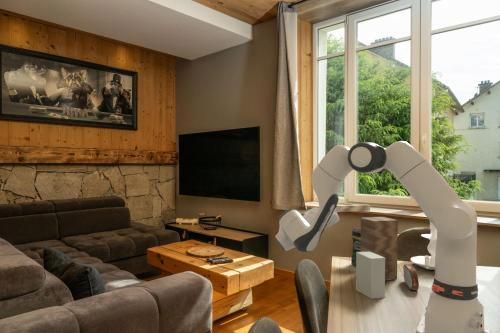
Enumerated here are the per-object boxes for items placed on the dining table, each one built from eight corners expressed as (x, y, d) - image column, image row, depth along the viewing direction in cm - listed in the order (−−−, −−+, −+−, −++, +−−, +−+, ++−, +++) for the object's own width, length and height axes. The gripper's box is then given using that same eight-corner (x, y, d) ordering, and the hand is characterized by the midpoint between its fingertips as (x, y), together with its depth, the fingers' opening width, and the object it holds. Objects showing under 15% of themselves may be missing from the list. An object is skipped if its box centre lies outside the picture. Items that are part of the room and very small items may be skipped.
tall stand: (373, 281, 150) (374, 221, 150) (360, 274, 159) (360, 217, 159) (397, 278, 153) (397, 220, 153) (382, 272, 163) (383, 216, 162)
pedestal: (370, 298, 130) (371, 258, 130) (355, 289, 140) (356, 252, 139) (384, 297, 131) (385, 257, 131) (368, 288, 141) (369, 251, 141)
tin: (419, 293, 136) (419, 272, 136) (410, 293, 136) (411, 271, 136) (409, 281, 151) (409, 261, 150) (402, 280, 151) (402, 261, 151)
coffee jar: (348, 265, 174) (349, 228, 174) (357, 262, 179) (358, 226, 179) (365, 269, 166) (366, 231, 166) (374, 266, 171) (375, 229, 171)
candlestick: (401, 270, 166) (402, 211, 166) (417, 259, 184) (418, 207, 184) (450, 280, 152) (451, 216, 152) (462, 267, 171) (462, 211, 171)
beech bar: (329, 212, 147) (329, 206, 147) (324, 210, 151) (324, 205, 151) (370, 210, 153) (370, 205, 153) (364, 209, 156) (364, 204, 156)
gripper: (318, 221, 137) (345, 203, 140) (297, 214, 156) (321, 198, 160) (325, 235, 138) (352, 217, 141) (303, 226, 157) (327, 210, 160)
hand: (335, 207), depth 150 cm, fingers closed on beech bar, 4 cm apart
